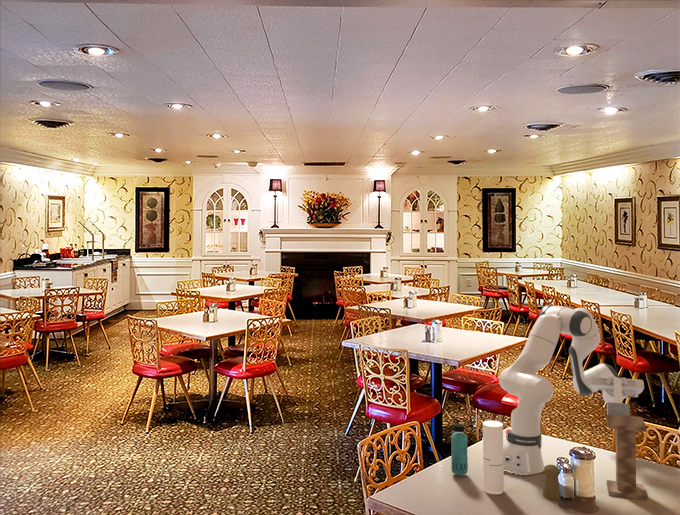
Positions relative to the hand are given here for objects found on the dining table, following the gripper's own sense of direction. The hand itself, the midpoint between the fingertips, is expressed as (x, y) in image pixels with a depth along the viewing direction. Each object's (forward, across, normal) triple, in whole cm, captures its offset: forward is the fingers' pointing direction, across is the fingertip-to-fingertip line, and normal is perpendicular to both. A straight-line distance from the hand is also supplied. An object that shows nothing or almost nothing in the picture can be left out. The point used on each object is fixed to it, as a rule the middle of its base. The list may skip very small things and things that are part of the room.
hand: (617, 378), depth 231 cm
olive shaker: (+18, -25, +50) cm, 59 cm away
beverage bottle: (+11, -59, +46) cm, 76 cm away
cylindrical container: (+19, -45, +51) cm, 71 cm away
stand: (+7, 0, +44) cm, 44 cm away
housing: (-5, 0, +8) cm, 9 cm away
